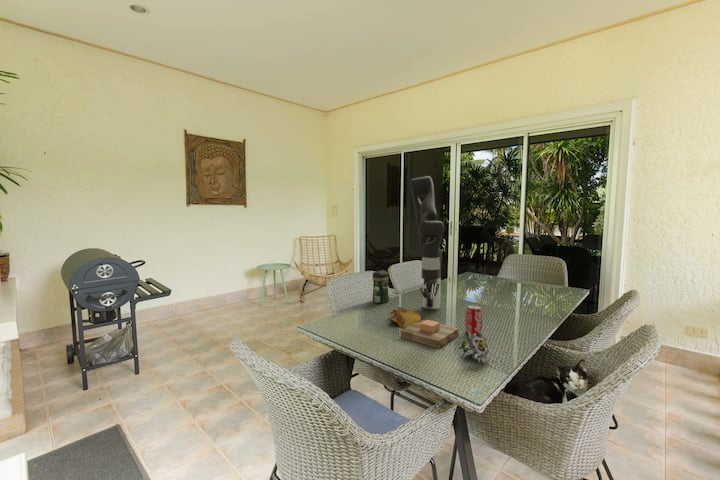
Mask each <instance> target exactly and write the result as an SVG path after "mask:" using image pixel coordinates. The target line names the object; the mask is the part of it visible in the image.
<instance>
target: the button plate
mask: <svg viewBox="0 0 720 480" xmlns="http://www.w3.org/2000/svg"><path fill="white" fill-rule="evenodd" d="M424 321H426V320H424V319H420V320H419V322H417V323H415V324H413V325H411V326H409V327H407V328H402V329H401V331H400V338H403V339H406V340H409V341H414V342H416V343H419V344H424V345H426V346H430V347H433V348H436V349H440V348H442V347H443V346H444V345H446V344H447V343H449V342H450V341H452V340H453V339H455V338H456V337H458V336H459V328H457V327H452V326H449V325H447V324H446V325H445V324H440V326H439V330H438V331H437V332H435V333H429V332H425V331H422V330H420V323H422V322H424Z"/></svg>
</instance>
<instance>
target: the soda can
mask: <svg viewBox="0 0 720 480" xmlns="http://www.w3.org/2000/svg"><path fill="white" fill-rule="evenodd" d="M464 321H465V325H464V326H465V332H466V333H467V334H468V332H469V333H470V334H472V336H473V335H474V334H476V336H478V335H480V334H481V333H482V330H483V310H482V306H480V305H476V304H469V305H467V308H466V309H465V320H464Z"/></svg>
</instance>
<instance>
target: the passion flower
mask: <svg viewBox="0 0 720 480" xmlns="http://www.w3.org/2000/svg"><path fill="white" fill-rule="evenodd" d="M467 334H468V338H469V339H468V340H467V339H466V338H465V337H462V342H461V345H460V347H459V349H458V350H462V349H463V350H462V356H465V354H466V353H468V351H473V353H472V355H471V358H472V359H473V360H475V361H476V362H477V363H479V364H480V362H481V364H485V362H486V359H485V358H488V357H489V353H488V352H489V347H488V346H489V345H488V343H487V341H486V340H487V339H486V338H482V337H480V336H477V335H476V334H474V335H471V334H470V333H469V332H468V333H467Z"/></svg>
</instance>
